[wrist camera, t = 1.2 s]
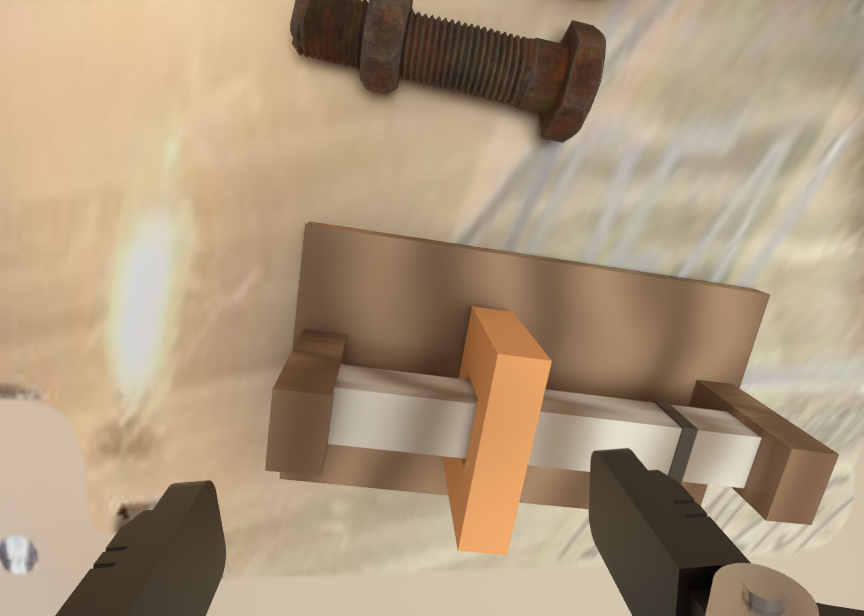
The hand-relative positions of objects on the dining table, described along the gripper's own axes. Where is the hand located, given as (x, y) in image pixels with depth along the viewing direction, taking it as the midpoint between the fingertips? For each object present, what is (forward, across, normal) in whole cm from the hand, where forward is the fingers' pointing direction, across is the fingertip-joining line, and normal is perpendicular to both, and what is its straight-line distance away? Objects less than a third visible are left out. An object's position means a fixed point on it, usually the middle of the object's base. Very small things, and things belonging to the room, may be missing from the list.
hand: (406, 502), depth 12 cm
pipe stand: (+22, -7, +7) cm, 24 cm away
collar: (+19, -4, +6) cm, 21 cm away
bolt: (+22, -3, -12) cm, 26 cm away
